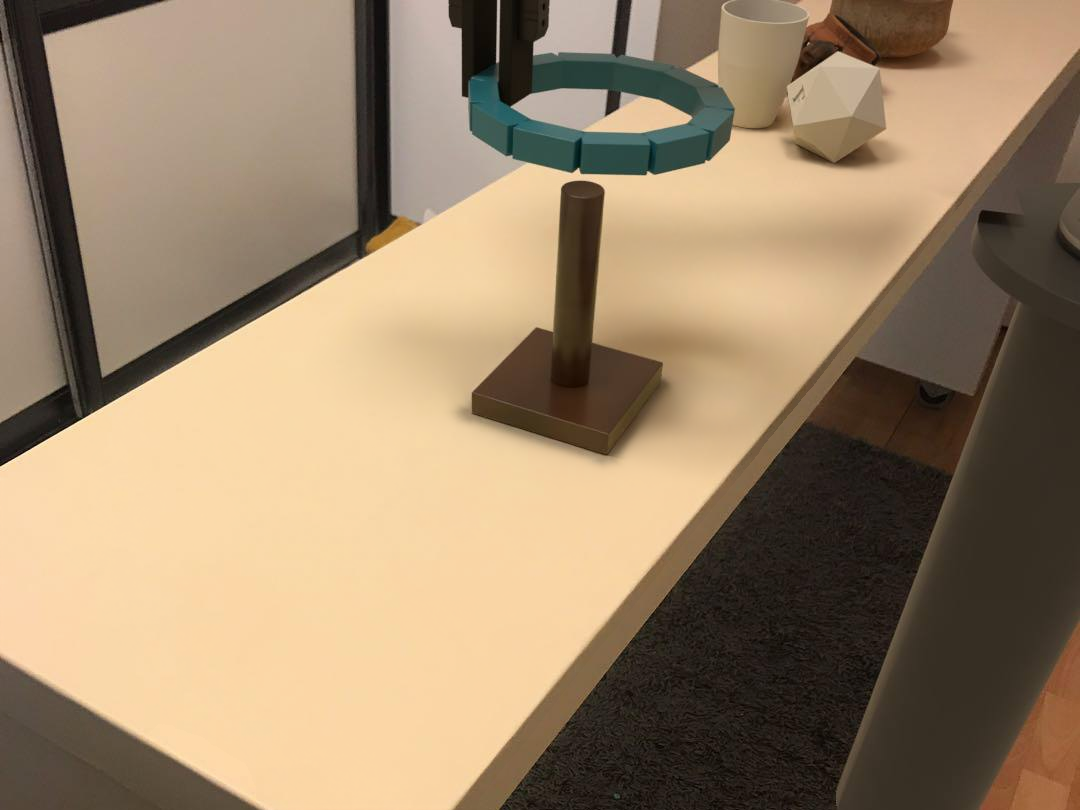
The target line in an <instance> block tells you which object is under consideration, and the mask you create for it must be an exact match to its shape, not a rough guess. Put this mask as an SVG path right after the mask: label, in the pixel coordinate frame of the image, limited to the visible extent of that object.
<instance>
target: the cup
mask: <svg viewBox="0 0 1080 810" xmlns="http://www.w3.org/2000/svg"><path fill="white" fill-rule="evenodd" d="M720 11H721V12H720V23H719V34H718V46H717V47H718V48H717V83H718V84H717V85H718V87H722V88H723V90H724V91H725V93H726V95H727V96H728V98H729V100H730V101H731V103H732V105H733V106H734V108H735V112H734V118H733V124H732V126H735V127H738V128H746V129H762V128H767V127H769V126H771V125H772V124H773V123H774V122H775V119H776V118H777V116H778V114H779V111H780V109H781V107H782V106H783V103H784V101H785V100H786V97H787V95H788V94H787V92H788V91H787V86H788V85H789V84H790V83H791V80H792V77H793V75H794V72H795V69H796V66H797V63H798V60H799V56H800V51H801V47H802V43H803V39H804V35H805V31H806V27H808V22H809V19H810V13H809V11H808V10H807V9H806V8H804V7H802V6H800V5H797V4H795V3H792V2H787V1H784V0H728V1H726V2H724V3H723V4H722V5H721V10H720Z"/></svg>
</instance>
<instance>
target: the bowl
mask: <svg viewBox="0 0 1080 810" xmlns="http://www.w3.org/2000/svg"><path fill="white" fill-rule="evenodd" d="M953 4H954V0H831V4H830V8H829V11H828V13H833V14H835V15H838V16H839V17H841V18H842V19H844V20H845V21H846V22H847V23H849V24H850V25H851V26H853V27H854V28H855V29H856V30H857V31H858V32H860V33H861V34H862V35H863V36H864V37H865V38H866V39H867V40H868V41H869V42H870V43H871V44H872V45H873V46H874V47H875V48H876V49H877V50H878V52H879V53H880V55H881V57H883V58H905V57H911V56H915V55H918V54H921V53H923V52H926V51H928V50H930V49H932V48H933V47H935V46H937V45H938V44H939V43H940V42H941V41H942V40H943V39H944V38H945V37H946V35H947V33H948V30H949V27H950V20H951V13H952V8H953Z"/></svg>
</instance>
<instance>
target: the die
mask: <svg viewBox="0 0 1080 810" xmlns="http://www.w3.org/2000/svg"><path fill="white" fill-rule="evenodd" d="M880 69H881V68H880V67H877V66H876V65H875V66H873V65H870V64H868V63H865V62H863V61H861V60H858V59H856V58H853V57H851V56H848V55H846V54H844V53H841V52H839V51H838V52H836V53H835V54H833V55H832V56H830V57H829V58H827V59H826V60H824V61H823V62H821V63H820V64H818V65H817V66H816V67H814V68H813V69H811V70H810V71H808V72H807V73H805V74H804V75H802V76H801V77H799V78H798V79H796V80H795V81H794V82H792V83H791V84H789V85H788V86H787V91H788V94H787V97H788V104H789V110H790V116H791V122H792V129H793V135H794V141H795V144H796V145H798V146H800V147H801V148H804V149H806V150H807V151H810V152H811V153H813V154H815V155H817V156H819V157H821V158H823V159H825V160H827V161H829V162H831V163H833V164H835V163H837V162H838V161H840V160H841V159H843V158H844V157H846V156H848V155H849V154H850V153H852V152H853V151H856V150H857V149H858V148H860V147H861V146H863V145H864V144H866V143H868V142H869V141H870V140H872V139H873V138H875V137H877V136H878V135H880V134H881V133H883V132H884V131H885V130H887V122H886V121H887V120H886V112H885V104H884V95H883V86H882V77H881V70H880Z"/></svg>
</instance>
